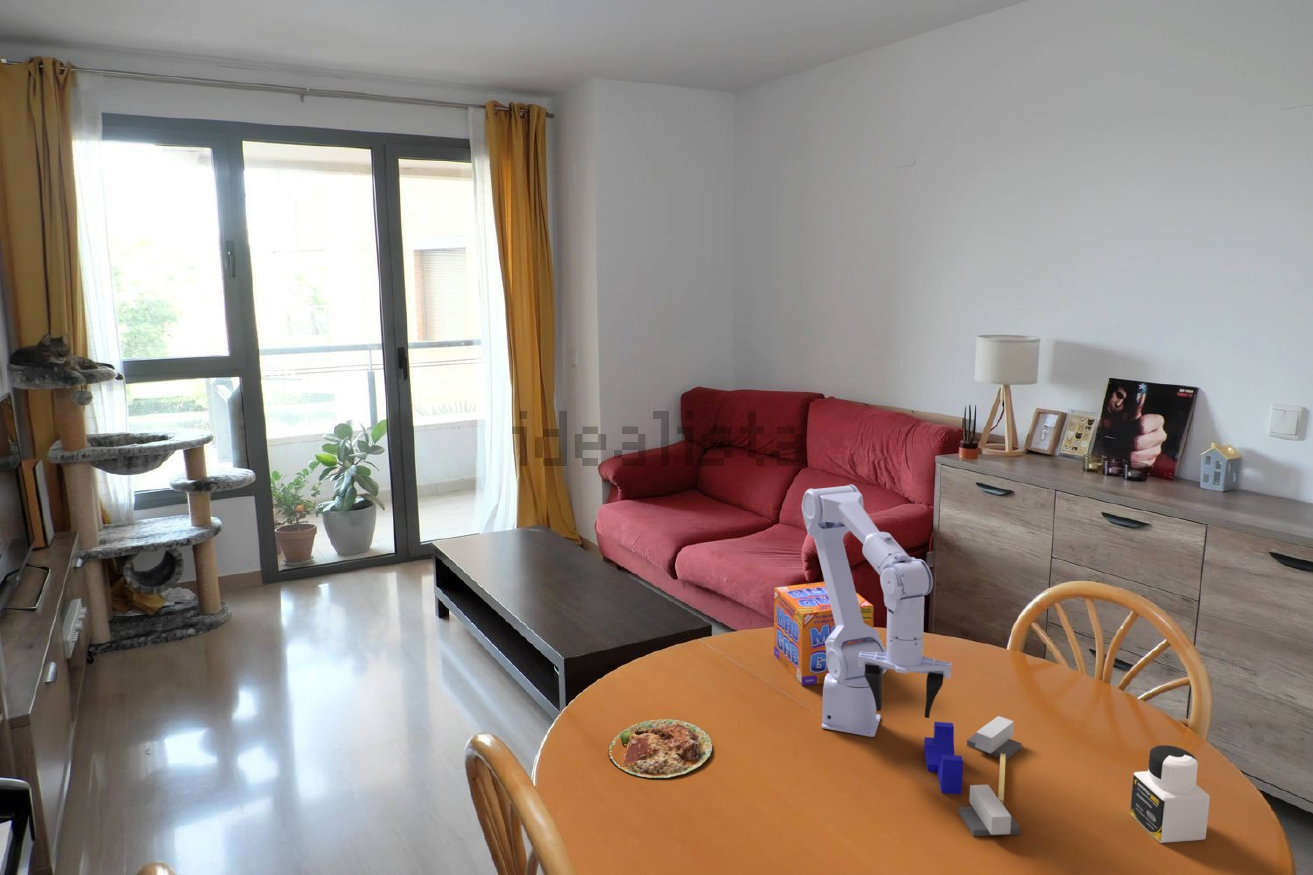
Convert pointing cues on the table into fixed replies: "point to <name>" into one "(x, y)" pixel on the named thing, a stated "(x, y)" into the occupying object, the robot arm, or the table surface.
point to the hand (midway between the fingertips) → (903, 711)
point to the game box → (807, 629)
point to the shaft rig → (986, 806)
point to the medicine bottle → (1170, 797)
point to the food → (663, 747)
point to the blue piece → (944, 758)
